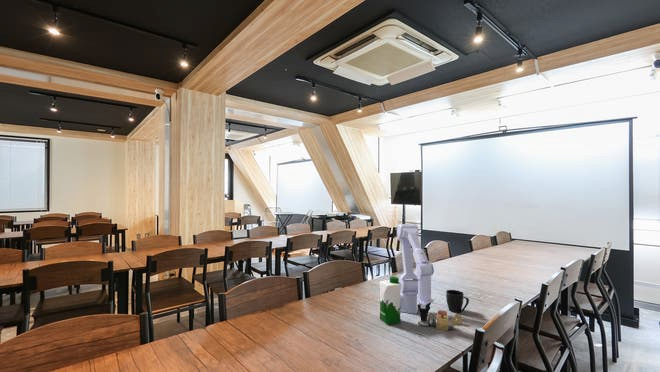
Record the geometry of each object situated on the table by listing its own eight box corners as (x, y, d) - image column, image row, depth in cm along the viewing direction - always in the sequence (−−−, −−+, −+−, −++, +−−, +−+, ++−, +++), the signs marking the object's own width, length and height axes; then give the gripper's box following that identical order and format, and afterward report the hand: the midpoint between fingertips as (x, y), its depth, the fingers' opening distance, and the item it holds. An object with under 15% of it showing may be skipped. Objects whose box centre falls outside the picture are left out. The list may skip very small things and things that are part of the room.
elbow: (452, 324, 136) (452, 315, 136) (451, 322, 138) (451, 314, 138) (461, 324, 136) (461, 316, 136) (459, 323, 138) (459, 314, 138)
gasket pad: (417, 325, 134) (417, 325, 134) (418, 320, 139) (418, 320, 139) (430, 327, 132) (430, 327, 132) (430, 322, 137) (430, 322, 137)
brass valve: (431, 327, 132) (431, 312, 132) (431, 323, 137) (431, 308, 137) (453, 331, 129) (453, 315, 129) (453, 327, 133) (453, 311, 134)
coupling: (420, 325, 134) (420, 314, 134) (420, 320, 138) (420, 310, 138) (430, 326, 133) (430, 315, 133) (430, 321, 137) (429, 311, 137)
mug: (461, 318, 143) (461, 298, 144) (442, 309, 154) (442, 290, 154) (473, 315, 147) (473, 296, 147) (454, 306, 158) (454, 288, 158)
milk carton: (403, 323, 136) (403, 279, 136) (386, 326, 133) (386, 281, 133) (392, 316, 144) (393, 274, 145) (376, 318, 141) (377, 276, 141)
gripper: (432, 295, 128) (432, 327, 127) (434, 285, 141) (434, 314, 141) (416, 293, 130) (415, 324, 130) (419, 284, 144) (418, 312, 144)
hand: (424, 319), depth 136 cm, fingers closed on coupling, 4 cm apart
